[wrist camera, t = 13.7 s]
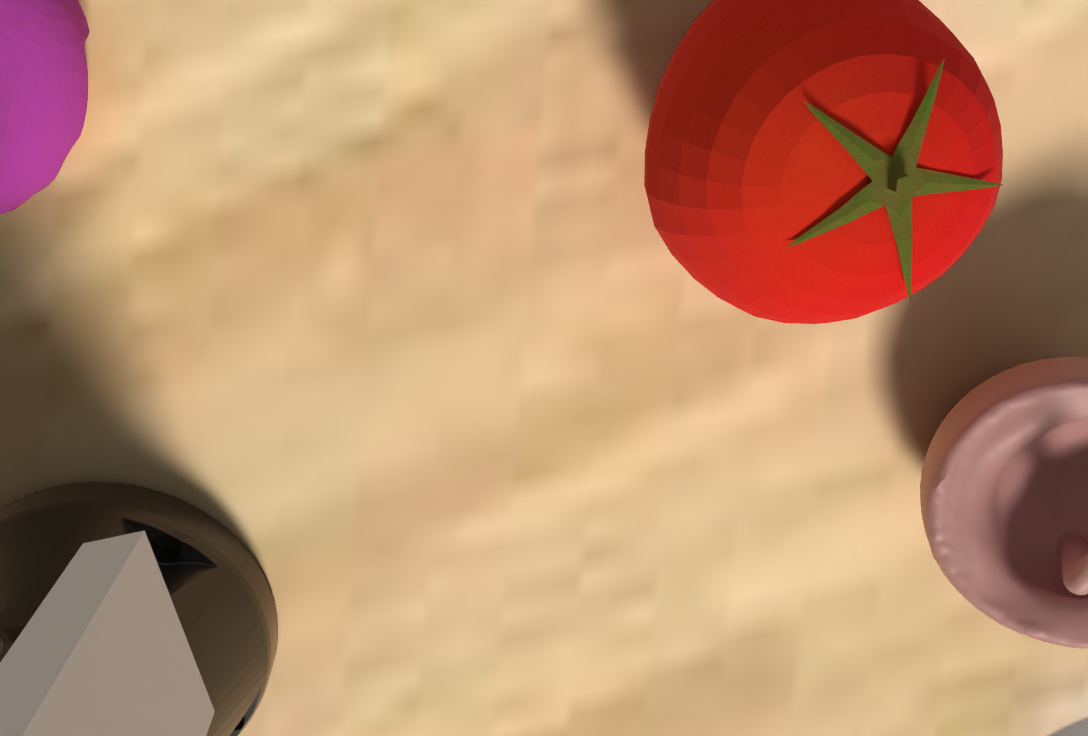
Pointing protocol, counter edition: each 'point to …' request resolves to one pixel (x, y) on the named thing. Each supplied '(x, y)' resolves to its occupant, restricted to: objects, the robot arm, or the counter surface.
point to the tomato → (820, 154)
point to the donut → (39, 92)
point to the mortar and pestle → (1016, 499)
